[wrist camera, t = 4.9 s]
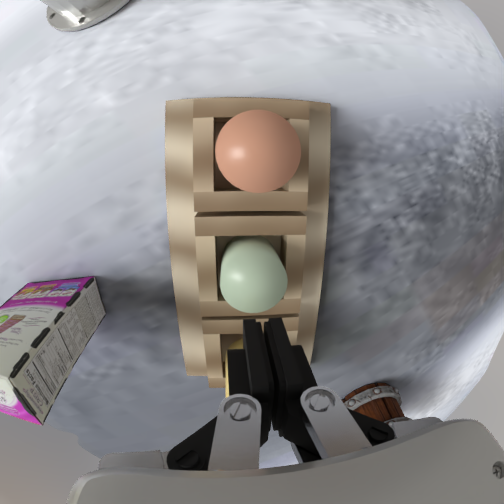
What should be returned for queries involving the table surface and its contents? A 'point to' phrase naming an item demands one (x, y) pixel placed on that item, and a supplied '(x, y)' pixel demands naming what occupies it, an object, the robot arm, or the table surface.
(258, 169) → the salmon orange rounded piece
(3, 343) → the candy bar box
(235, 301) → the sage button
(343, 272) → the table surface
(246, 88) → the table surface
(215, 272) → the wooden compartment tray
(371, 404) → the mug
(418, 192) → the table surface
